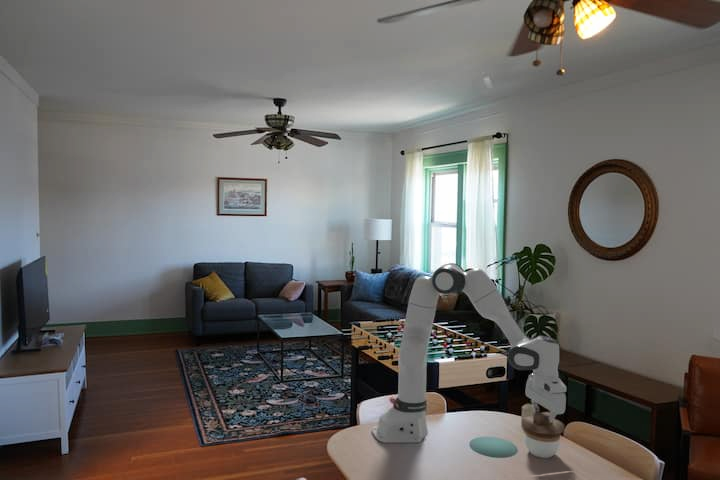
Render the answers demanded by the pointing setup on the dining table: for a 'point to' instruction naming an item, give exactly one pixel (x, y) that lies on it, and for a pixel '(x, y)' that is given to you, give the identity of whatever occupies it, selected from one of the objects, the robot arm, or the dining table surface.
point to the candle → (527, 412)
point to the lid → (542, 424)
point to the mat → (493, 447)
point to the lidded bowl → (542, 443)
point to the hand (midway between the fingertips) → (543, 416)
